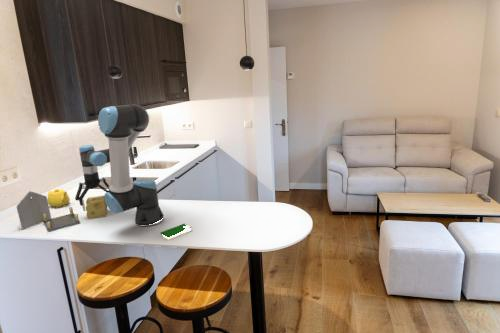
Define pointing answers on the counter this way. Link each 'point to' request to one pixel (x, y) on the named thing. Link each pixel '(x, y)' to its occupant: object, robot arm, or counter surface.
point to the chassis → (61, 221)
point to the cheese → (96, 207)
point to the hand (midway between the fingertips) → (96, 207)
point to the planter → (33, 209)
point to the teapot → (58, 198)
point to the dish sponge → (173, 230)
